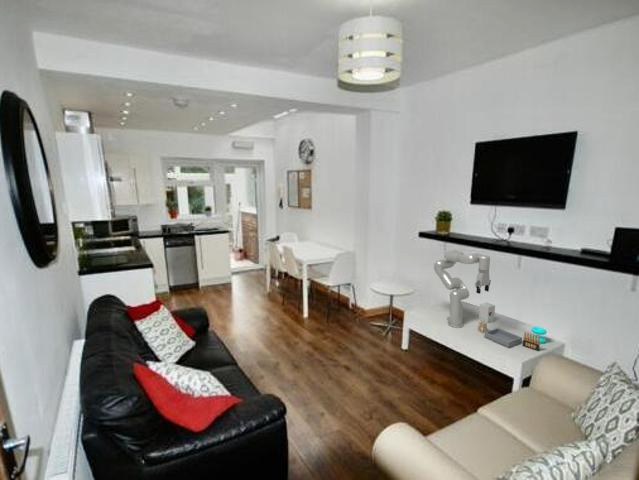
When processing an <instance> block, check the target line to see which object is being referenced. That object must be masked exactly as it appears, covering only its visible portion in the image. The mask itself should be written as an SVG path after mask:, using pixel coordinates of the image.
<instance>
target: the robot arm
mask: <svg viewBox="0 0 639 480" xmlns="http://www.w3.org/2000/svg"><path fill="white" fill-rule="evenodd" d="M443 257H444V259H438V260H436V261H435V262H434V265H433V271H434V273H435V274H436V276H438V277H439V279H440V280H441V282H442V284H443V285H444V287H445V288H446V289H447V290H448V291H450V293H449V300H450V307H449V308H450V309H449V316H447V318H446V320H448V321H447V324H448V325H447V326H450V327H451V328H456V329H457V328H462V327H464V323H463V322H462V321H463V316H462V315H463V304H462V300H467V299H468V298H469V297H470V291H469V289H468V287H466V284H465V283H464V282H463V280H462V279H461V278H459V277H452V276H451V274H450V273H449V272H448V271H446V269H451V268H452V267H454V266H455V264H456V263H460V264H464V265H474V264H478V271H477V276H476V282H475V283H474V286H475V288H476V291H475V292H476V294H481V292H482V291H481V288H482V287H484V291H485V292H490V286H491V282H492V280H491V279H490V263H491V256H490V255H488V254H487V255H486V254H482V253H479V252H477V253H471V254H464V253H463V252H462V251H459V250H450V251H446V252H445V253H444V254H443Z"/></svg>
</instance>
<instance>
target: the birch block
mask: <svg viewBox="0 0 639 480" xmlns="http://www.w3.org/2000/svg"><path fill="white" fill-rule="evenodd" d="M487 324H488V323H486V322H484V321H481V320H479V321H478V323H477V332H479V333H481V334H485V332H487V326H488V325H487Z"/></svg>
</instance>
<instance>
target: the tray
mask: <svg viewBox="0 0 639 480" xmlns="http://www.w3.org/2000/svg"><path fill="white" fill-rule="evenodd" d="M483 336H484V337H483V338H485V339H487V340H489V341H491V342H494V343H496V344H498V345H501V346H502V347H505V348H506V349H510V348H512V347H516V346H519V345H520V344H523V337H522V336H519V335H517V334H514V333H512V332H510V331H506V330H505V329H502V328H499V327H496V328H493V329H490V330H488V331H487V330H486V332H485V333H484V335H483Z"/></svg>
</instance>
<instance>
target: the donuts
mask: <svg viewBox="0 0 639 480" xmlns="http://www.w3.org/2000/svg"><path fill="white" fill-rule="evenodd" d="M530 330H531V333H532V334H534V339H535V335H537V339H538V335H539V337H540V343H539V344H545V343H546V341H547V339H546V338H545V337H544V336H543V335H546V334H547V332H548V331H547V330H546V328H544V327H541V326H532V327H531V329H530ZM531 339H532V335H531Z"/></svg>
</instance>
